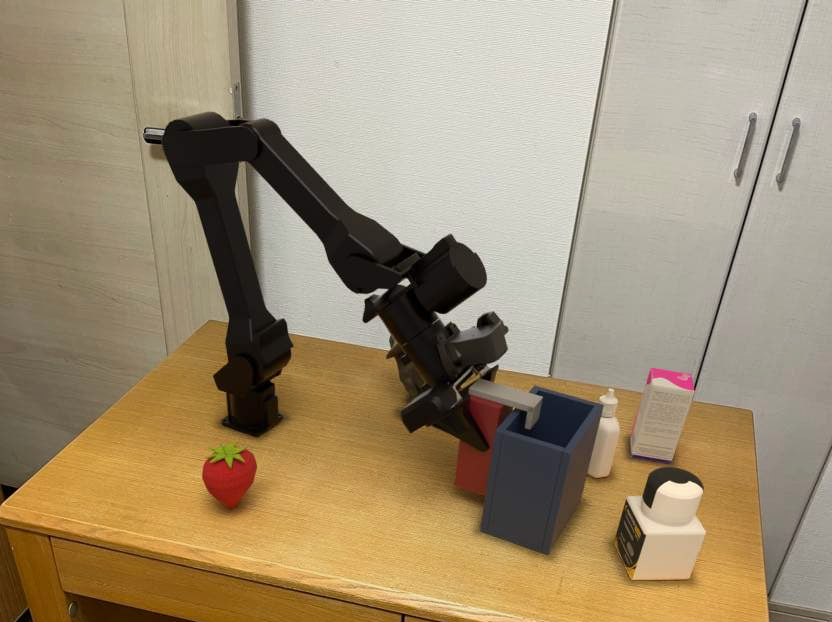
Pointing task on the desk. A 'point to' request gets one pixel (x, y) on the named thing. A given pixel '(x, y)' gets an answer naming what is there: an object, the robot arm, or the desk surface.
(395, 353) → the toy dinosaur
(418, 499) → the desk surface
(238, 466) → the strawberry
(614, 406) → the eye dropper bottle
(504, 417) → the red post with hook
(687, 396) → the supplement box
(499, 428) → the storage box
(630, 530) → the medicine bottle
